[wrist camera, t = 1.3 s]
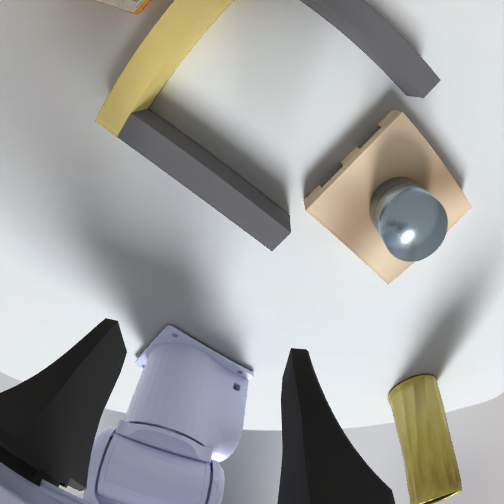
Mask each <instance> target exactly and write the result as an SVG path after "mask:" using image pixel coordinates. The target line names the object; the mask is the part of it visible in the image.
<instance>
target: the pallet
mask: <svg viewBox="0 0 504 504" xmlns="http://www.w3.org/2000/svg"><path fill="white" fill-rule="evenodd" d="M378 126H379V127H380V129H379V130H378V131H377V132H376V133H375V134H374V135H373V136H372V137H371V138H370V139H369V140H368V141H367V142H366V143H365V144H364V145H363V146H362V147H361V148H360V149H359V148H358V147H357V146H356V147H355V148H354V149H353V150H352V151H351V152H350V153H349V154H348V155H347V156H346V157H345V158H344V159H343V161H342V162H341V163H342V165H343V167H342V168H341V169H340V170H339V171H338V172H337V173H336V174H335V175H334V176H333V177H332V178H331V179H330V180H329V181H328V182H327V183H326V184H325V185H324V186H323V187H322V186H320V185H318V186H317V187H316V188H315V189H314V190H313V191H312V192H311V193H310V194H309V195H308V196H307V197H306V198H305V199H304V205H305V210H306V211H307V212H308V213H309V214H310V215H312V216H313V217H314V218H315V219H316V220H317V221H319V222H320V223H321V224H322V225H323V226H324V227H326V228H327V229H328V230H329V231H330V232H331V233H332V234H334V235H335V236H336V237H337V238H338V239H339V240H340V241H341V242H343V243H344V244H345V245H346V246H347V247H348V248H349V249H350V250H351V251H353V252H354V253H355V254H356V255H357V256H358V257H359V258H360V259H361V260H362V261H364V262H365V263H366V264H367V265H368V266H369V267H370V268H371V269H372V270H373V271H374V272H375V273H376V274H378V275H379V276H380V277H381V278H382V279H383V280H384V281H385V282H386V283H387V284H389V283H390V282H392V281H393V280H394V279H395V278H396V277H398V276H399V275H400V274H401V273H402V272H403V271H405V270H406V269H407V268H408V267H409V266H410V265H411V264H413V263H414V262H415V261H413V262H407V261H402V260H399V259H397V258H395V257H394V256H393V255H392V254H391V253H390V252H389V251H388V249H387V247H386V245H385V244H384V242H383V240H382V238H381V237H380V235H379V233H378V231H377V230H376V228H375V226H374V225H373V223H372V221H371V218H370V214H369V205H370V201H371V198H372V195H373V194H374V192H375V190H376V189H377V188H378V187H379V186H380V185H381V184H382V183H383V182H385V181H386V180H388V179H391V178H394V177H407V178H410V179H413V180H414V181H416V182H417V183H418V184H419V185H421V186H422V187H423V188H424V189H425V190H426V191H428V192H429V193H430V194H431V195H432V196H433V197H435V198H436V199H437V200H438V201H439V202H440V203H441V204H442V205H443V207H444V208H445V211H446V213H447V218H448V227H447V231H448V230H449V229H450V228H451V227H452V226H453V225H454V224H455V223H456V222H457V221H458V220H459V219H460V218H461V217H462V216H463V215H464V214H465V213H466V212H467V211H468V210H469V209H470V208H471V207H472V206H471V205H470V203H469V201H468V200H467V198H466V196H465V195H464V193H463V192H462V190H461V188H460V187H459V185H458V184H457V182H456V181H455V179H454V178H453V176H452V175H451V173H450V172H449V171H448V169H447V168H446V166H445V165H444V163H443V162H442V161H441V159H440V158H439V157H438V155H437V154H436V152H435V151H434V150H433V148H432V147H431V146H430V145H429V143H428V142H427V141H426V139H425V138H424V137H423V136H422V134H421V133H420V132H419V131H418V129H417V128H416V127H415V126H414V125H413V123H412V122H411V121H410V120H409V119H408V117H407V116H406V115H405V114H404V113H403V112H402V111H398V110H394V109H392V110H391V111H390V112H389V113H388V114H387V115H386V116H385V117H384V118H383V119H382V120H381V121H380V123H379V124H378Z"/></svg>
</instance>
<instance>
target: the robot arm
mask: <svg viewBox="0 0 504 504" xmlns="http://www.w3.org/2000/svg"><path fill="white" fill-rule="evenodd" d="M174 333H175V334H174ZM126 353H127V351H126V347H125V344H124V341H123V337H122V334H121V330H120V327H119V323H118V321H115V320H111V319H107V318H106V319H104V320H103V321H102V322H101V323H100V324H98V325H97V326H96V327H95V328H94V329H93V330H92V331H91V332H89V333H88V334H87V335H86V336H85V337H84V338H83V339H82V340H80V341H79V342H78V343H77V344H76V345H75V346H73V347H72V348H71V349H70V350H69V351H68V352H66V353H65V354H64V355H63V356H61V357H60V358H59V359H58V360H56V361H55V362H54V363H52V364H51V365H50V366H48V367H47V368H45V369H44V370H42V371H41V372H39V373H38V374H36V375H35V376H33V377H31V378H29V379H28V380H26V381H24V382H22V383H21V384H19V385H17V386H15V387H13V388H11V389H8V390H6V391H4V392H2V393H0V504H221V501H222V497H223V491H224V472H223V469H222V468H221V466H220V464H219V462H221V461H223V460H225V459H226V458H228V457H229V456H230V455H231V454H232V452H233V451H234V449H235V448H236V446H237V444H238V442H239V440H240V437H241V434H242V429H243V422H244V413H245V405H246V396H247V388H248V381H249V380H251V379H252V378H253V376H254V373H253V372H252V371H250V370H248V369H246V368H244V367H242V366H240V365H238V364H237V363H235V362H233V361H231V360H229V359H228V358H226V357H224V356H222V355H220V354H219V353H217V352H215V351H213V350H212V349H210V348H208V347H206V346H205V345H203V344H201V343H200V342H198V341H196V340H194V339H193V338H191V337H189V336H188V335H186V334H185V333H183V332H181V331H180V330H178V329H176V328H175V327H173V326H166V327H165V328H164V330H163V331H162V332H161V333H160V334H159V335H158V336H157V337H156V338H155V339H154V341H153V342H152V343H151V344H150V345H149V346H148V347H147V348H146V349H145V350H144V352H143V353H142V354H141V355H140V356H139V357H138V358H137V360H136V364H137V365H138V366H140V367H141V368H143V372H142V374H141V377H140V379H139V382H138V384H137V387H136V390H135V392H134V395H133V397H132V400H131V403H130V405H129V408H128V411H127V413H126V416H125V419H124V421H123V420H120V421H119V424H118V427H117V429H115V428H113V427H108V428H107V429H104V430H102V431H100V432H99V434H98V435H97V437H96V439H95V435H96V432H97V428H98V425H99V421H100V418H101V415H102V413H103V410H104V408H105V406H106V403H107V401H108V399H109V397H110V394H111V392H112V390H113V388H114V386H115V383H116V381H117V379H118V377H119V375H120V372H121V369H122V366H123V363H124V360H125V357H126ZM281 414H282V440H283V455H282V467H281V478H280V487H279V496H278V504H395V501H394V497H393V493H392V490H391V489H390V488H389V487H388V486H387V485H386V484H385V483H384V482H383V481H382V480H381V479H380V478H379V477H378V476H377V475H376V474H375V473H374V472H373V470H372V469H371V468H370V467H369V466H368V465H367V464H366V462H365V461H364V460H363V458H362V457H361V456H360V455H359V453H358V452H357V451H356V449H355V448H354V447H353V445H352V444H351V443H350V441H349V439H348V438H347V436H346V435H345V433H344V432H343V430H342V428H341V427H340V425H339V423H338V422H337V420H336V418H335V416H334V414H333V412H332V410H331V408H330V406H329V404H328V402H327V400H326V398H325V396H324V393H323V391H322V389H321V387H320V384H319V382H318V379H317V377H316V374H315V371H314V368H313V366H312V363H311V359H310V356H309V352H308V351H307V350H306V349H294V348H291V350H290V354H289V357H288V361H287V364H286V368H285V371H284V374H283V379H282V393H281ZM94 439H95V441H94ZM59 485H61V486H63V487H67V485H68V486H70V487H72V488H74V489H77V490H79V491H83V490H84V494H83V499H81V498H79V497H77V496H75V495H72V494H70V493H68V492H66V491H64V490H62V489H60V488H58V487H59Z"/></svg>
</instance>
